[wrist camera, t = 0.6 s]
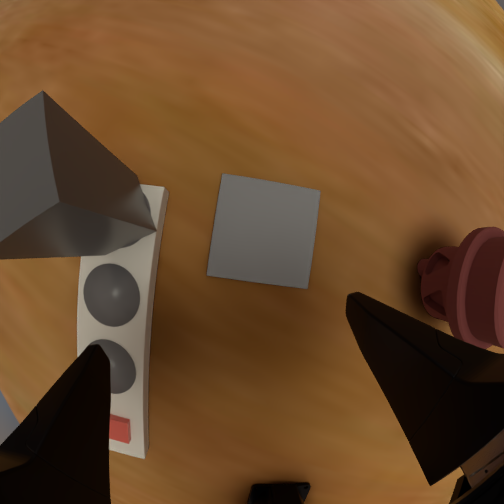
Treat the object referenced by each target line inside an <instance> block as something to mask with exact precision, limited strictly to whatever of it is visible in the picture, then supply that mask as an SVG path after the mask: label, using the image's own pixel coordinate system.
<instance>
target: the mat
mask: <svg viewBox="0 0 504 504" xmlns="http://www.w3.org/2000/svg"><path fill="white" fill-rule="evenodd" d="M319 199H320V191H319V190H314V189H309V188H304V187H299V186H294V185H288V184H283V183H278V182H272V181H266V180H261V179H255V178H248V177H242V176H236V175H229V174H222V179H221V185H220V191H219V196H218V203H217V209H216V215H215V221H214V228H213V234H212V241H211V248H210V254H209V261H208V269H207V276H214V277H221V278H228V279H235V280H242V281H250V282H257V283H264V284H272V285H280V286H288V287H296V288H304V289H308V282H309V276H310V269H311V262H312V255H313V248H314V241H315V233H316V225H317V217H318V208H319Z"/></svg>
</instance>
